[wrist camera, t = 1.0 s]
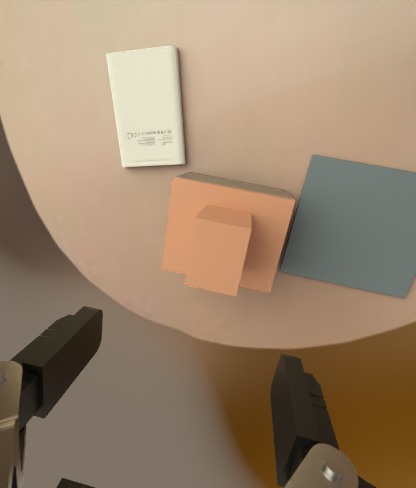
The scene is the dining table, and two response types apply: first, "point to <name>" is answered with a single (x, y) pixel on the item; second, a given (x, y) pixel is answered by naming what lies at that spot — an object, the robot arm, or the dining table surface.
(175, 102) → the external hard drive
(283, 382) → the robot arm
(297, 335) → the dining table surface
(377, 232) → the mat
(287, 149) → the dining table surface
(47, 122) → the dining table surface
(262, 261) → the lid
